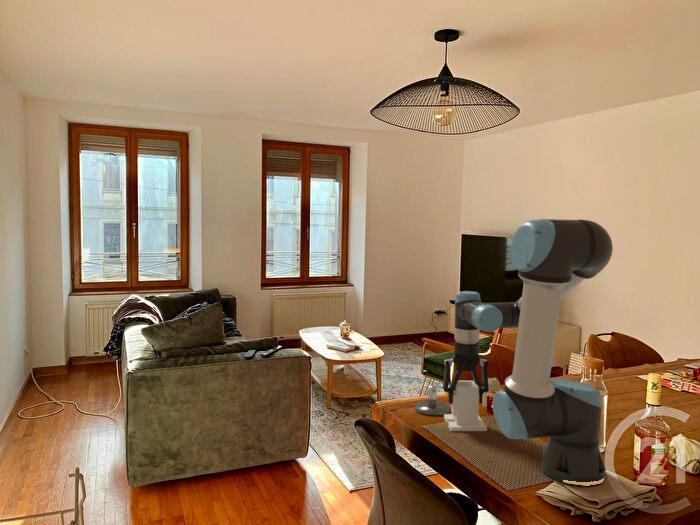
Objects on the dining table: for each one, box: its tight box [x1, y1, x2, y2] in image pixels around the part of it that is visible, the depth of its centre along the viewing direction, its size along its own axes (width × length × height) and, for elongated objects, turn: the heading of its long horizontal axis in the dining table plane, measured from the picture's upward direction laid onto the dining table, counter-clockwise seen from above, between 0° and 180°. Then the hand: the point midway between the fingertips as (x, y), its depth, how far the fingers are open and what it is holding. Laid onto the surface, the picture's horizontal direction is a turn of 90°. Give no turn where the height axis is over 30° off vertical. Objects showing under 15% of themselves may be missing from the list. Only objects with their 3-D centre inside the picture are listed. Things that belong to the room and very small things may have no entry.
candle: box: [482, 377, 501, 409], centre depth 182 cm, size 6×6×10 cm
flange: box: [443, 380, 488, 432], centre depth 165 cm, size 11×11×13 cm
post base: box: [413, 384, 451, 417], centre depth 178 cm, size 12×12×8 cm
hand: (464, 413), depth 166 cm, fingers closed on flange, 7 cm apart
